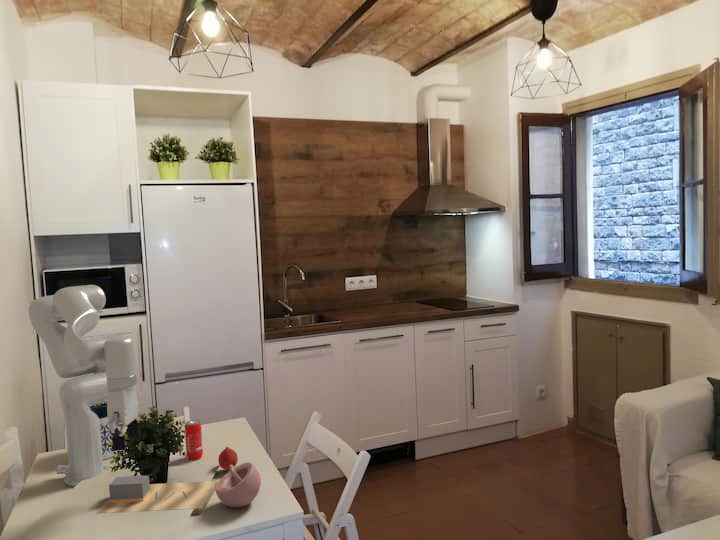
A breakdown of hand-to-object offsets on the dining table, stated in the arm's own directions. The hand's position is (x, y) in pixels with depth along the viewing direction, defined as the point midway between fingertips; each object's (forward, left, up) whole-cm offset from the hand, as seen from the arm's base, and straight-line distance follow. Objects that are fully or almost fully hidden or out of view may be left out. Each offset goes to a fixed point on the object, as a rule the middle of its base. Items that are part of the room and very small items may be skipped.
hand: (127, 443), depth 152 cm
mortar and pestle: (+31, -4, -17) cm, 35 cm away
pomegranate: (+23, +18, -17) cm, 34 cm away
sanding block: (0, 0, -16) cm, 16 cm away
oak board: (+8, 0, -17) cm, 19 cm away
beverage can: (+9, +30, -17) cm, 36 cm away
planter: (-26, +38, -17) cm, 49 cm away
